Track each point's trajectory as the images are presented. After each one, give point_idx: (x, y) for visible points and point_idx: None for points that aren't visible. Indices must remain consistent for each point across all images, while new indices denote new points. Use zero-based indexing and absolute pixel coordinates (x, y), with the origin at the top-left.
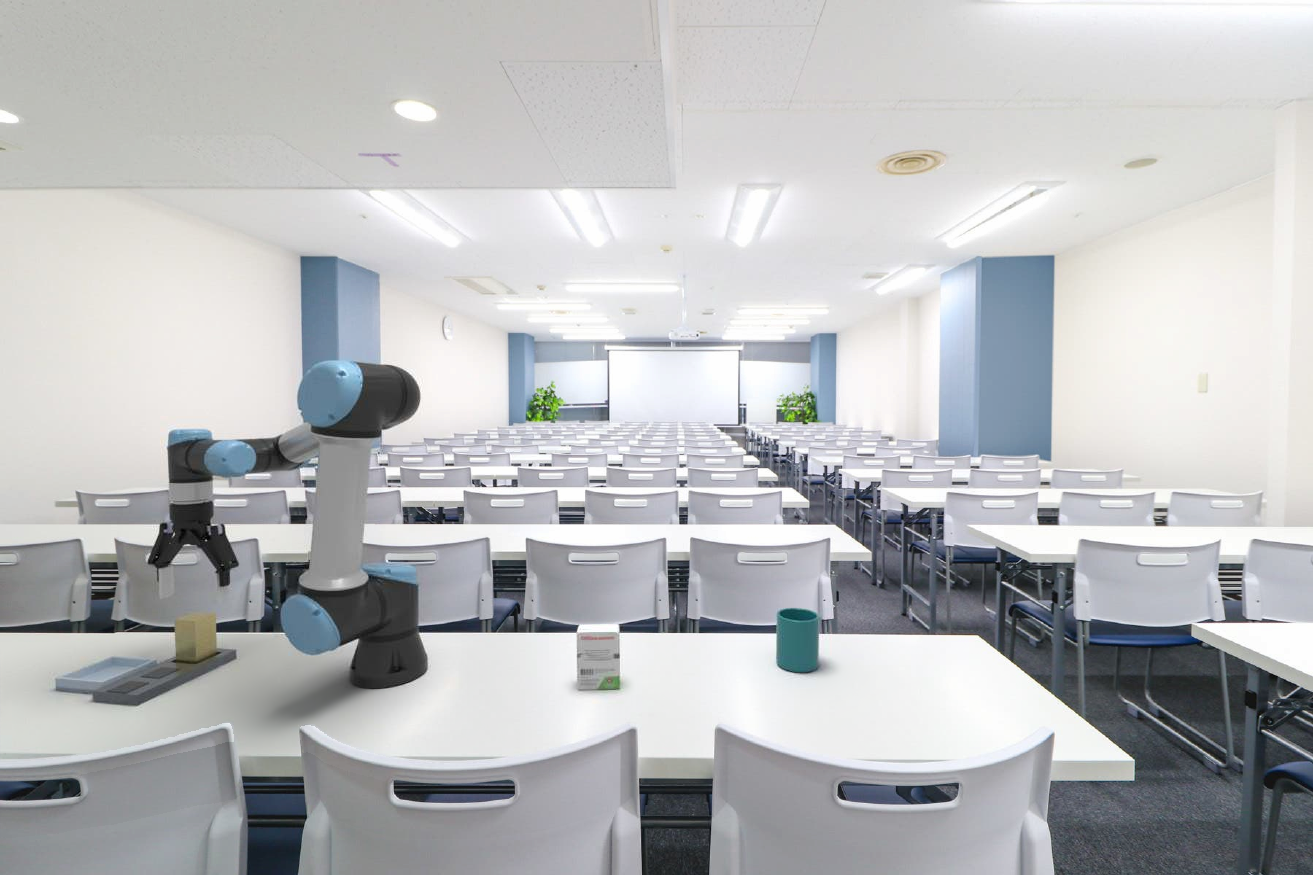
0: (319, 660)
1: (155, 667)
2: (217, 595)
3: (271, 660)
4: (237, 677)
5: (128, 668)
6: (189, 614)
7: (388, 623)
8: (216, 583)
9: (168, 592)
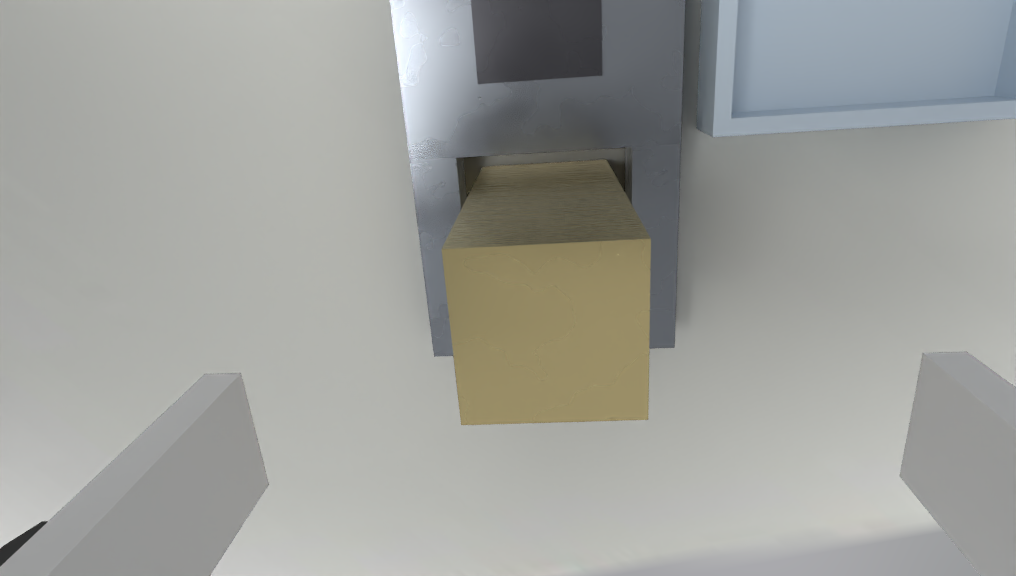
0: (63, 390)
1: (641, 66)
2: (157, 422)
3: (262, 349)
4: (222, 161)
5: (855, 79)
6: (641, 362)
7: None
8: (49, 523)
9: (940, 451)
